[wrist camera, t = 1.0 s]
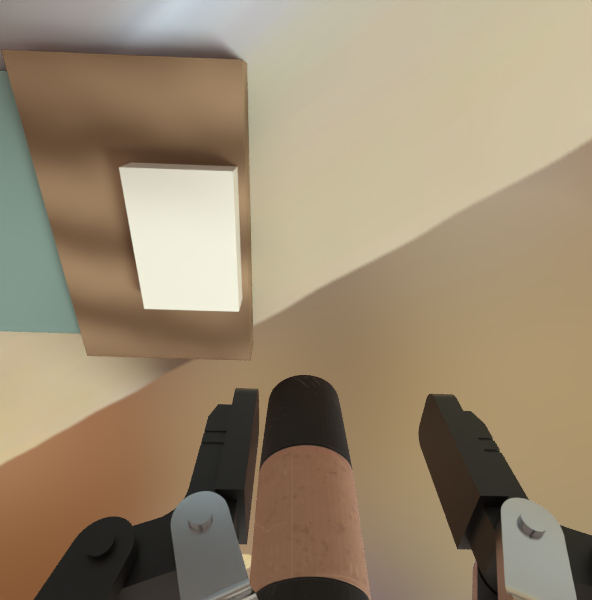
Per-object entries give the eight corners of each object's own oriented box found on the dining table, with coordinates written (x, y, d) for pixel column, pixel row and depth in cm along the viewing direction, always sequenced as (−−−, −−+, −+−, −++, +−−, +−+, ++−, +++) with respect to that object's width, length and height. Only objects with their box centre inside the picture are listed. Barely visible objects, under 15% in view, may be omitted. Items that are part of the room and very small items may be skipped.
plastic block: (131, 162, 25) (118, 167, 23) (237, 166, 25) (232, 171, 23) (153, 296, 29) (144, 308, 28) (242, 299, 30) (238, 311, 28)
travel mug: (335, 431, 40) (367, 692, 22) (264, 426, 40) (239, 688, 22) (346, 375, 36) (395, 633, 19) (268, 369, 36) (242, 627, 18)
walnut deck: (28, 54, 24) (0, 49, 22) (246, 63, 24) (242, 59, 22) (100, 339, 34) (87, 355, 32) (253, 343, 35) (250, 360, 32)
